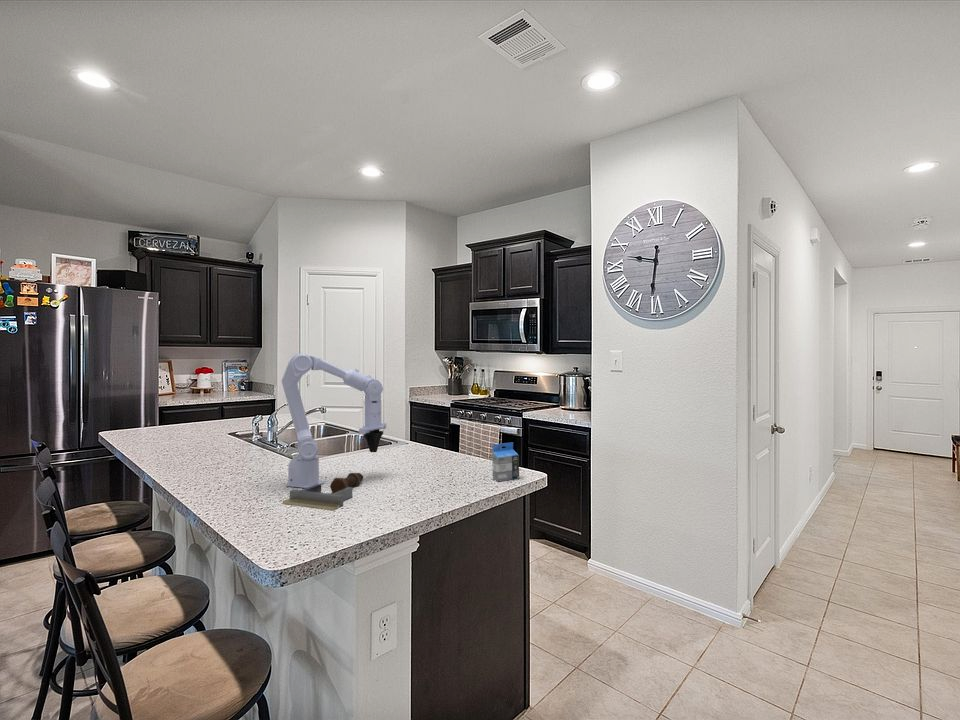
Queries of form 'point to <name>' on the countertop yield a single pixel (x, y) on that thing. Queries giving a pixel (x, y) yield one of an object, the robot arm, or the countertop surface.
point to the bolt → (346, 482)
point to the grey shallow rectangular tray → (318, 498)
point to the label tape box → (505, 462)
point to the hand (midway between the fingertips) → (373, 451)
